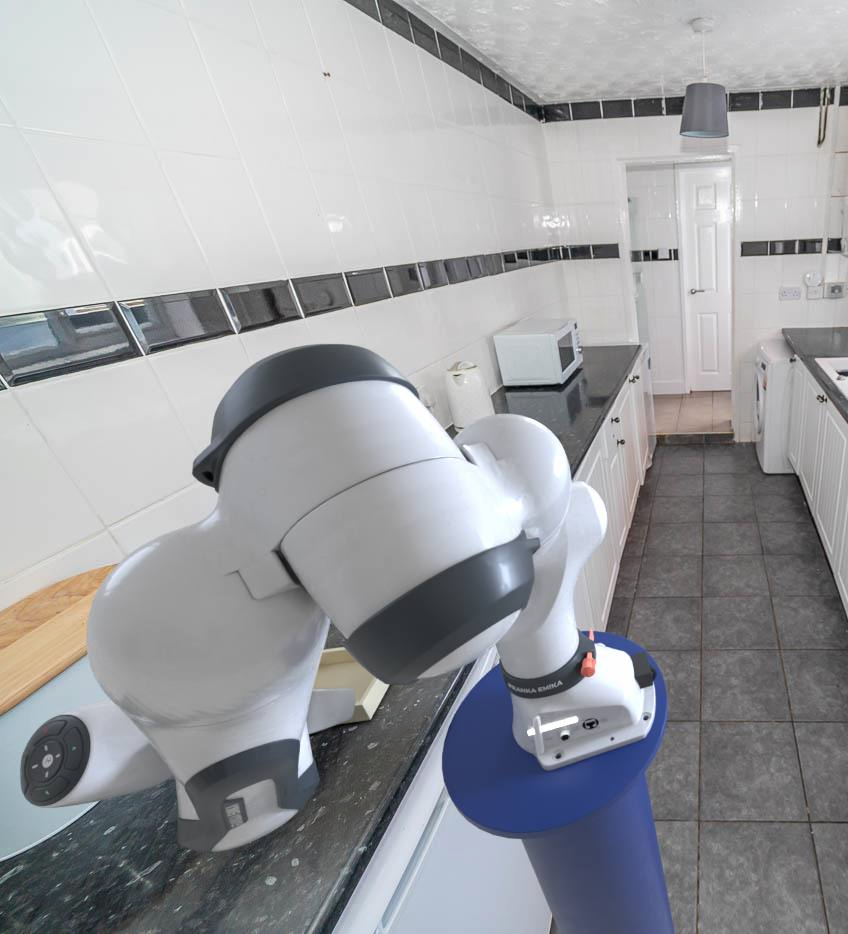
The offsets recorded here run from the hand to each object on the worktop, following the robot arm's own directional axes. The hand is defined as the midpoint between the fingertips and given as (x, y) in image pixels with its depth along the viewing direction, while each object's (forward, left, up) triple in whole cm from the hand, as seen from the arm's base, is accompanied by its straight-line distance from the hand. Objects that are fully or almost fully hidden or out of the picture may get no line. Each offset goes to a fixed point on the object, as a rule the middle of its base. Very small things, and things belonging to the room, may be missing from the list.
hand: (304, 708), depth 69 cm
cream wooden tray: (+4, -12, -10) cm, 16 cm away
